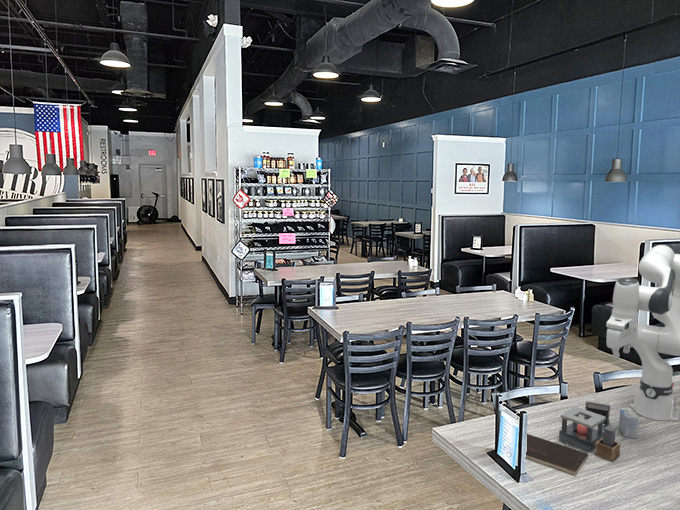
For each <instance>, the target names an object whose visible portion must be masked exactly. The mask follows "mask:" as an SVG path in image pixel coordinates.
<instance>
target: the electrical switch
mask: <svg viewBox="0 0 680 510" xmlns="http://www.w3.org/2000/svg"><path fill="white" fill-rule="evenodd" d="M584 406H585V407H584V410H587V411H590V412H593V413H596V414H599V415H602V416H605V417H606V419H605V420H604V423H603V424H605V425H604V426H608V423H610V422H609V421H610V412H611V411H610V410H611V404H610V403H604V402H598V401H593V400H586V401H585V405H584ZM583 417H584V419H585V418H586V419H585V420H588V419H589V417H586V416H583Z"/></svg>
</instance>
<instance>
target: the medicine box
mask: <svg viewBox="0 0 680 510" xmlns="http://www.w3.org/2000/svg"><path fill="white" fill-rule="evenodd" d="M638 428H639V417H638V416H637V415H636V414H635V411H633V410H632V409H625V408H621V409H619V421H618V430H620V431H621V433H622V435H623V436H624V437H625V438H628V439H629V438H631V439H637V438H638V430H639V429H638Z"/></svg>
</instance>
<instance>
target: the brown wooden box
mask: <svg viewBox="0 0 680 510" xmlns="http://www.w3.org/2000/svg"><path fill="white" fill-rule="evenodd" d="M594 450H595V451H594V456H597V457H600V458H602V459H604V460H607V461H609V462H612V463H613V462H614V461H615V460H617V459H618V458H619V457H620V455H621V443H620V442H618V441H615V444H614V447H613V448H612V447H609V446H606V445H604V444H603V438H601V439H600V440H599V441H597V442H596V448H595V449H594Z"/></svg>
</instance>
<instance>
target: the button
mask: <svg viewBox="0 0 680 510" xmlns="http://www.w3.org/2000/svg"><path fill="white" fill-rule="evenodd" d="M577 433H578V434H581V435H584V436H587V427H586V426H583V425H580V424H577Z"/></svg>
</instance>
